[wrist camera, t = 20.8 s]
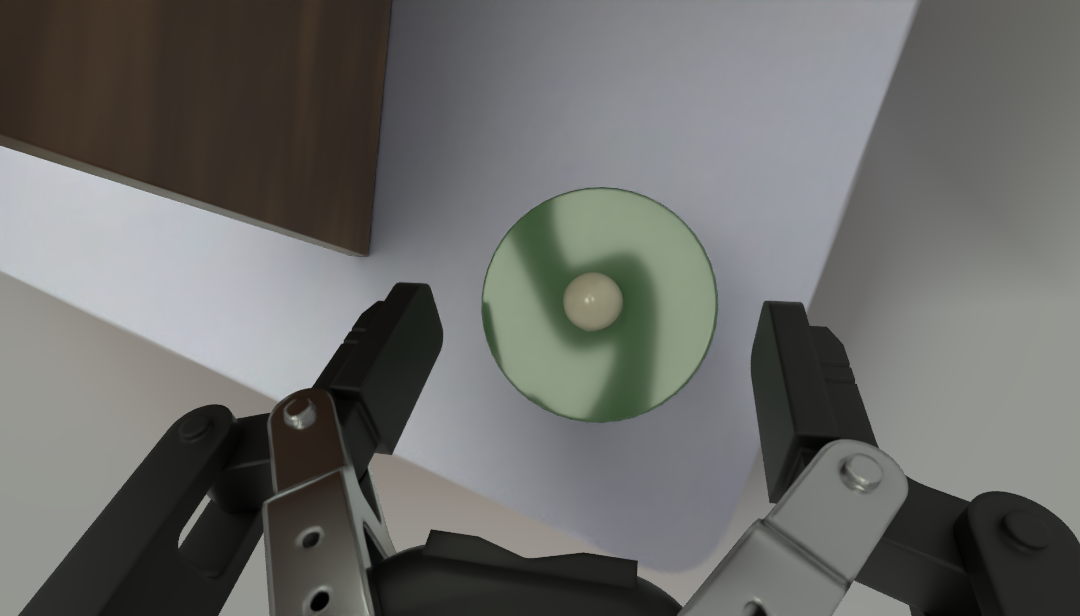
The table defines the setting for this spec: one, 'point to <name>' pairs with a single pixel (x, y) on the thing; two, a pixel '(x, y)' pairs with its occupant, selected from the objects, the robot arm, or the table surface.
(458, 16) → the table surface
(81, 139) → the cupboard door
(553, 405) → the pot
